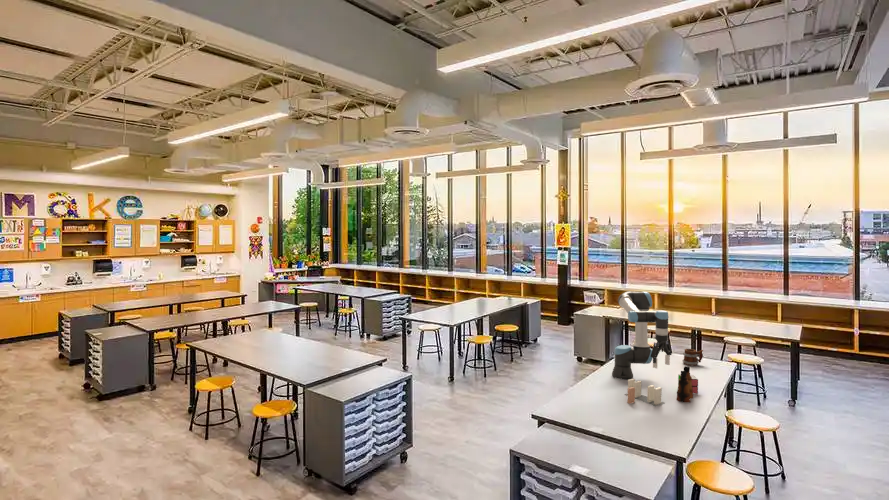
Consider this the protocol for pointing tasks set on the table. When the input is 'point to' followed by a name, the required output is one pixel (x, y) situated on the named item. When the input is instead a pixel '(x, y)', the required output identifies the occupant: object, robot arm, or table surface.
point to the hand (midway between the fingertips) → (661, 366)
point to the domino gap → (631, 395)
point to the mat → (645, 400)
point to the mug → (692, 357)
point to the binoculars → (685, 386)
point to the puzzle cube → (693, 383)
